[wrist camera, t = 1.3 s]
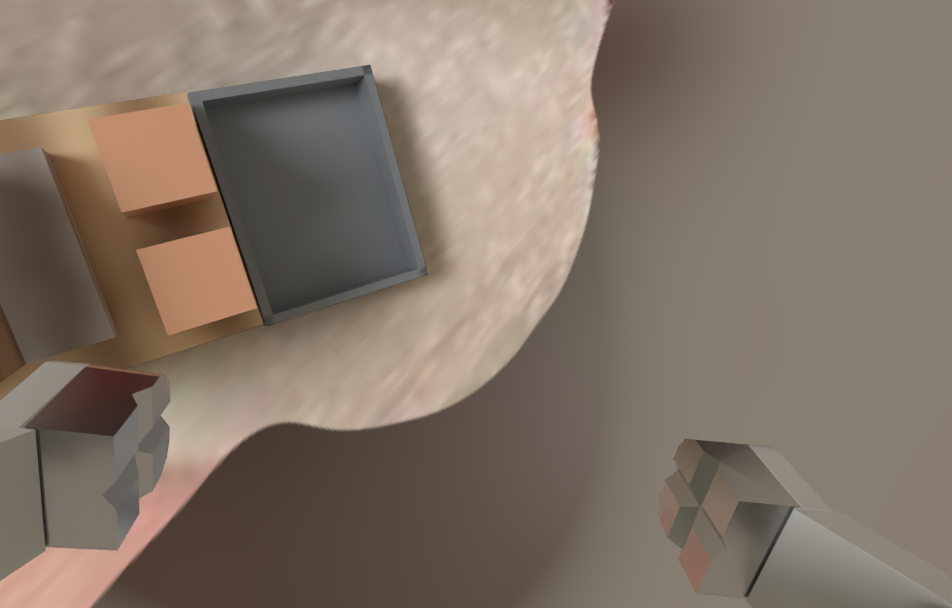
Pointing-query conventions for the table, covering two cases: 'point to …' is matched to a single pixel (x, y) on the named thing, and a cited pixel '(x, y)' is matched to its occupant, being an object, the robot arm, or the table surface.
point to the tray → (309, 188)
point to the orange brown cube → (197, 280)
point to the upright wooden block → (43, 268)
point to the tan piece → (118, 238)
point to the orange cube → (153, 159)
